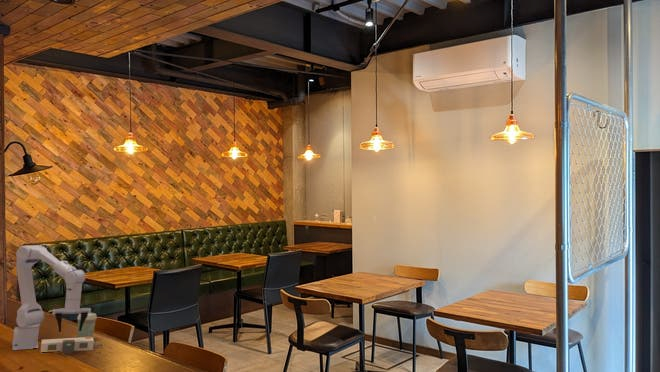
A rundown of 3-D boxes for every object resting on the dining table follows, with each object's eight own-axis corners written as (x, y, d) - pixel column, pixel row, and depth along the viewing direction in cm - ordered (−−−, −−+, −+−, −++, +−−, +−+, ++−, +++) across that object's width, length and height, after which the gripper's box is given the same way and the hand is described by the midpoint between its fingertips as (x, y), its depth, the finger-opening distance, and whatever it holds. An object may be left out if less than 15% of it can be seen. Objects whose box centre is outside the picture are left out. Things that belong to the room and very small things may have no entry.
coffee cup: (86, 343, 227) (89, 316, 228) (70, 341, 228) (73, 314, 229) (98, 339, 235) (101, 313, 236) (83, 337, 237) (85, 311, 238)
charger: (62, 354, 207) (63, 342, 207) (61, 351, 212) (62, 339, 212) (73, 353, 209) (74, 341, 209) (73, 350, 214) (74, 338, 214)
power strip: (40, 353, 207) (41, 342, 207) (40, 349, 213) (41, 338, 213) (103, 349, 219) (104, 338, 219) (101, 345, 225) (102, 335, 225)
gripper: (54, 300, 204) (50, 334, 203) (92, 299, 212) (89, 332, 211) (53, 297, 211) (50, 330, 209) (91, 297, 218) (88, 328, 217)
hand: (70, 330), depth 210 cm, fingers open, 7 cm apart
